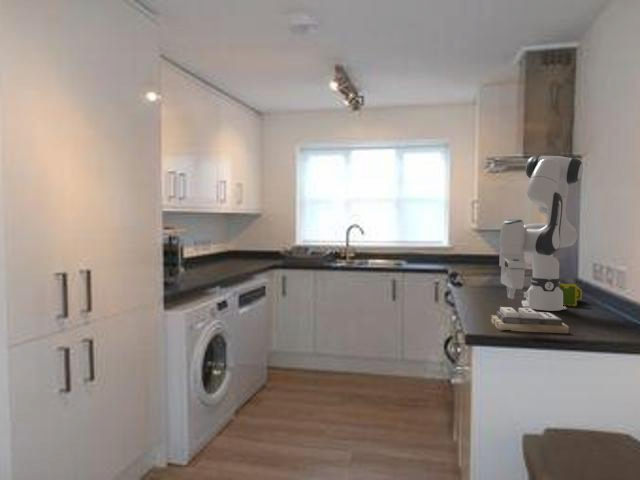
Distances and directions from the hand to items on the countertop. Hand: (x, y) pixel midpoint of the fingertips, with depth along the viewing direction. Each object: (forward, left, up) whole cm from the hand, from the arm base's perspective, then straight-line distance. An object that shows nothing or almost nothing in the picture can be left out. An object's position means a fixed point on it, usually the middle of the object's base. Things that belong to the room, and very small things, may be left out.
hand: (510, 298), depth 188 cm
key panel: (-1, +7, -11) cm, 13 cm away
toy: (-68, +39, -11) cm, 79 cm away
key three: (-1, +14, -8) cm, 16 cm away
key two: (-1, +7, -7) cm, 9 cm away
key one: (-1, 0, -7) cm, 7 cm away
